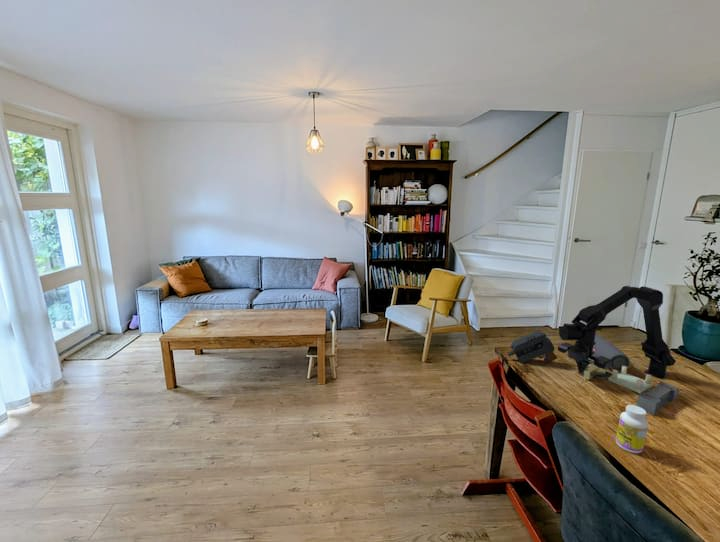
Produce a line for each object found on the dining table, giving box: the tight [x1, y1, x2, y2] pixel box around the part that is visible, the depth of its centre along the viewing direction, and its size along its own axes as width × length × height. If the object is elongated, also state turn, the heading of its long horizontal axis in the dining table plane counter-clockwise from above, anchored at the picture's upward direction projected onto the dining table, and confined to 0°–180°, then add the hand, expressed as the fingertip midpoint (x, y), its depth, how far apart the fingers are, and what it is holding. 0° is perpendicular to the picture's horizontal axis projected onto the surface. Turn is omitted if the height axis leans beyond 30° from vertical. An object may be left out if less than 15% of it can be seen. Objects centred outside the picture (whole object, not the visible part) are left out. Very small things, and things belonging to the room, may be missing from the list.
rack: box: [607, 365, 654, 394], centre depth 136 cm, size 11×11×4 cm
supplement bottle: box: [615, 404, 649, 454], centre depth 101 cm, size 7×7×13 cm
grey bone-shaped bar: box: [635, 381, 680, 416], centre depth 123 cm, size 19×5×5 cm, turn 119°
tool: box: [507, 330, 558, 364], centre depth 154 cm, size 6×19×15 cm, turn 78°
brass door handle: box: [583, 362, 608, 381], centre depth 142 cm, size 14×6×4 cm, turn 124°
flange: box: [584, 366, 613, 381], centre depth 145 cm, size 9×9×1 cm
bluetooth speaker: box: [592, 333, 631, 373], centre depth 153 cm, size 23×9×10 cm, turn 172°
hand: (580, 373), depth 141 cm, fingers closed
